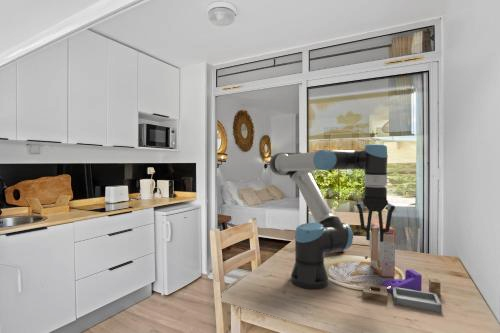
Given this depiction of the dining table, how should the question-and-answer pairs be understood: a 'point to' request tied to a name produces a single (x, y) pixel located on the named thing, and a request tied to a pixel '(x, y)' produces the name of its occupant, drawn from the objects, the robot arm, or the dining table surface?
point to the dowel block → (375, 292)
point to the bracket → (405, 281)
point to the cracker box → (385, 253)
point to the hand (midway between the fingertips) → (374, 249)
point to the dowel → (374, 243)
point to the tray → (416, 299)
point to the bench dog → (434, 286)
